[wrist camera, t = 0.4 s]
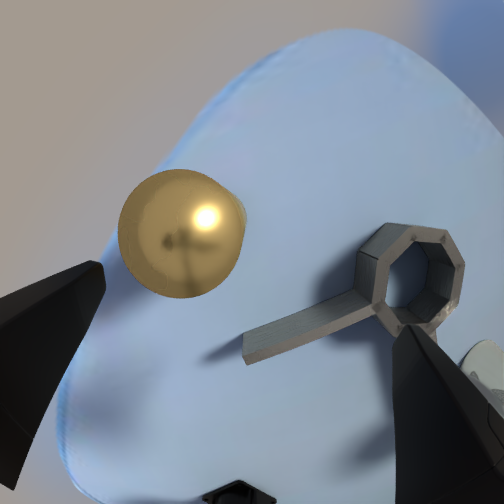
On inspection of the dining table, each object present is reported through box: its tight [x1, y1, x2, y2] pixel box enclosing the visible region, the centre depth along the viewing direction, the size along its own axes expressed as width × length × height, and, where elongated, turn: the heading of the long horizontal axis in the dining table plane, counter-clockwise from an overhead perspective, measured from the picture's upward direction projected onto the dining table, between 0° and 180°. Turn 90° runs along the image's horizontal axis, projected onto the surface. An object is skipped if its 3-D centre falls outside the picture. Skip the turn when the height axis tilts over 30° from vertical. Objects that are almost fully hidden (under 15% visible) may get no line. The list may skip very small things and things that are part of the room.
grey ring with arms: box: [242, 223, 465, 365], centre depth 22 cm, size 17×18×4 cm
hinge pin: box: [118, 169, 247, 298], centre depth 16 cm, size 4×4×12 cm
